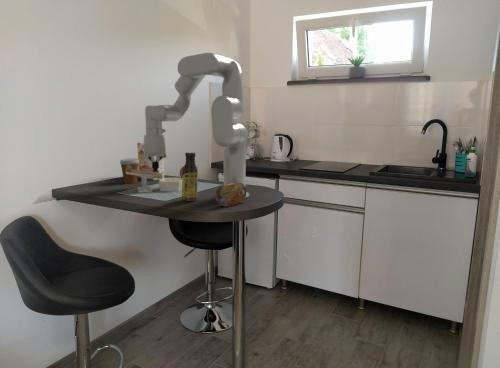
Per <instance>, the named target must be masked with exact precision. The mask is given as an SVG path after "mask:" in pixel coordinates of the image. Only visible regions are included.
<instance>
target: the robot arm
mask: <svg viewBox="0 0 500 368" xmlns="http://www.w3.org/2000/svg"><path fill="white" fill-rule="evenodd" d="M177 72H178V74H179V77H178V78H177V81H175V83H174V89H175V90H176V92H178V97H177V99H176V100H175V102H174V103H173V104H158V105H155V104H154V105H146V106H145V108H144V109H145V110H144V113H145V114H144V115H145V116H144V117H145V134H144V136H143V142H144V158H147V159H150V160H151V161H152V169H153V168H154V170H158V168H159V161H160V160H161V159H162V158H164V159H165V158H167V150H166V149H167V147H166V139H165V135H164V134H163V133H166V129H164V128H163V122H177V121H179V120H180V119H182V118H183V116H184V115H185V114H186V112H187V111H188V110H189V107H190V105H191V99H192V98H191V96H192V95H193V93H194V92H195V91H196V89H197V88H198V86H199V85H200V84H201V82H202V81H203V80H204V78H205V77H206V76H213V77H220V78H223V81H222V84H221V93H222V95H219V96H217V97H216V98H215V99H214V100H213V102H212V104H211V107H210V108H211V109H210V112H211V128H212V138H213V140H214V142H215V143H216V144H217V145H218V146H219V147H221V148H222V147H224V151H223V185H227V184H232V183H242V184H243V185H244V186H245V187H246V168H247V167H246V160H247V146H248V139H249V138H248V136H249V133H248V130H247V128H246V126H244V125H243V124H242V123H239V122H234V120H238V119H240V118H242V117H243V114H244V93H243V72H242V68H241V66H240V64H239V62H237V61H236V60H235V59H232V58H230V57H228V56H225V55H221V54H216V53H212V52H203V53H198V54H191V55H187V56H184V57H182V58H181V59H179V62H178V63H177ZM161 155H162V156H161ZM154 156H157V157H156V162H155V160H154ZM249 196H250V194H249V192H248V191H246V197H245V199H246V198H248V197H249Z"/></svg>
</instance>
